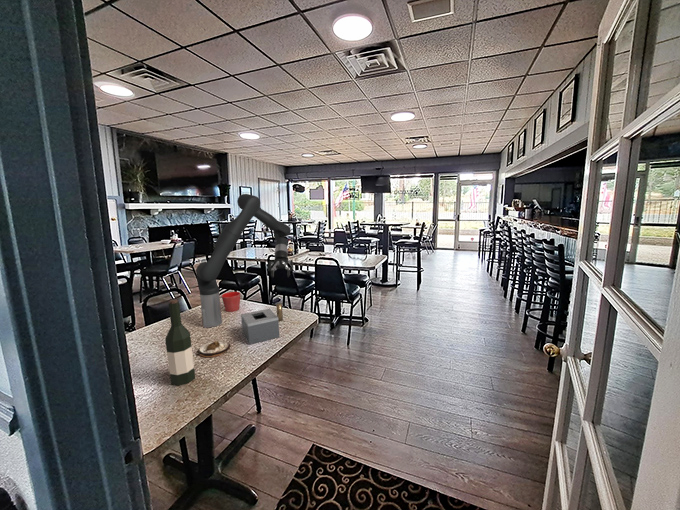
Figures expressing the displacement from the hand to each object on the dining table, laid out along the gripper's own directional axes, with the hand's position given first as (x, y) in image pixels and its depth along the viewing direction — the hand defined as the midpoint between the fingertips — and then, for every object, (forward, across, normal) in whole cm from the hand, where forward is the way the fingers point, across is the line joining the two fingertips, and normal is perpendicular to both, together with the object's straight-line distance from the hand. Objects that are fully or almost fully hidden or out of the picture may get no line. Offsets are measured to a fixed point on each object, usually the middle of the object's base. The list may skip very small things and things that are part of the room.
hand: (280, 276), depth 170 cm
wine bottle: (+59, -29, -30) cm, 72 cm away
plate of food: (+45, -25, -14) cm, 53 cm away
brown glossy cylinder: (+23, 0, +7) cm, 24 cm away
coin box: (+36, -7, -6) cm, 37 cm away
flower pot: (+9, -31, +22) cm, 39 cm away
